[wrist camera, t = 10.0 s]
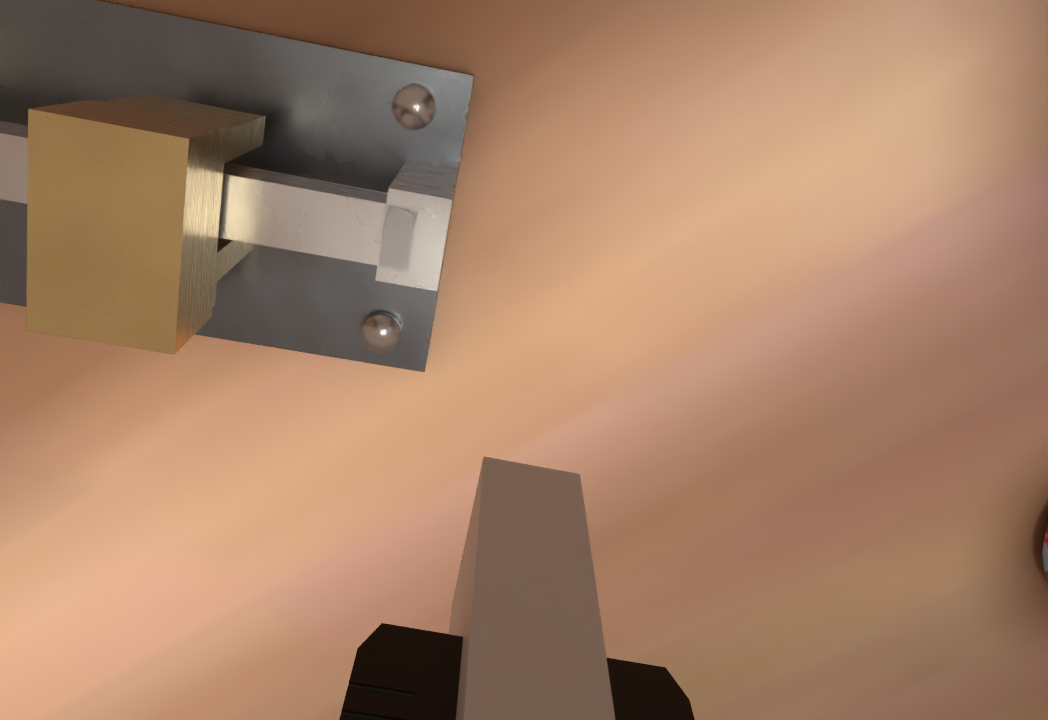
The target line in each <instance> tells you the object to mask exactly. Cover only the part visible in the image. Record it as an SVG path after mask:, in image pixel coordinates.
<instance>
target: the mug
mask: <svg viewBox="0 0 1048 720" xmlns="http://www.w3.org/2000/svg"><path fill="white" fill-rule="evenodd" d="M1042 561H1043V567H1044V571H1045V575H1046V577H1047V579H1048V527H1047V530H1046V533H1045V537H1044V542H1043V549H1042Z"/></svg>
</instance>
